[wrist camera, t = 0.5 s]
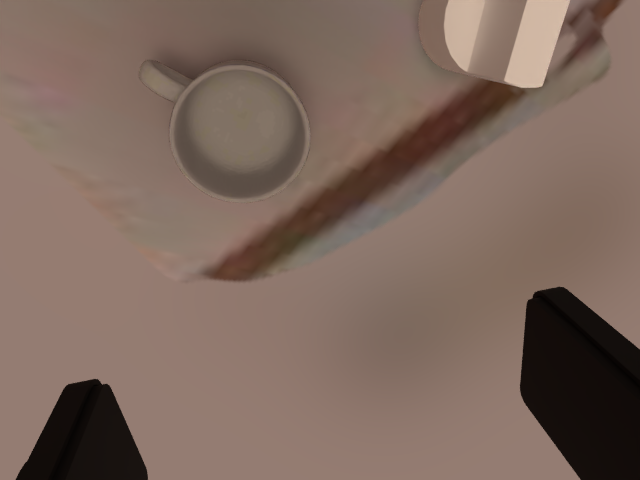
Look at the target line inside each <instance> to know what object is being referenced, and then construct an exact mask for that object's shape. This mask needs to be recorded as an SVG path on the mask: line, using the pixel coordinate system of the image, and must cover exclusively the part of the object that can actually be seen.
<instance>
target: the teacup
mask: <svg viewBox="0 0 640 480" xmlns="http://www.w3.org/2000/svg"><path fill="white" fill-rule="evenodd" d="M139 78H140V80H141V81H142V83H143V84H144V85H146V86H147V87H148V88H149V89H150V90H152V91H153V92H155V93H156V94H158V95H160V96H162V97H163V98H165V99H168V100H170V101H172V102H175V106H174V108H173V111H172V115H171V119H170V125H169V142H170V146H171V150H172V154H173V156H174V159H175V161H176V163H177V165H178V167H179V168H180V170H181V172H182V173H183V174H184V175H185V176H186V177H187V179H188V180H189V181H190V182H191V183H192V184H193V185H194V186H196V187H197V188H198V189H199V190H201V191H202V192H204V193H206V194H207V195H209V196H211V197H214V198H217V199H220V200H223V201H227V202H234V203H251V202H257V201H261V200H264V199H267V198H269V197H271V196H274V195H276V194H277V193H279V192H280V191H282V190H283V189H285V188H286V187H287V186H288V185H289V184H290V183H292V182H293V181H294V180H295V178H296V177H297V176H298V174H299V173H300V171H301V170H302V168H303V166H304V164H305V162H306V160H307V157H308V153H309V150H310V126H309V121H308V117H307V113H306V111H305V108H304V106H303V104H302V102H301V100H300V99H299V97H298V96H297V94H296V93H295V92H294V91H293V89H292V88H291V86H290V85H289V84H288V83H287V82H286V81H285V80H284V78H282V77H281V76H280V75H279V74H278V73H276V72H275V71H274V70H272V69H270V68H269V67H267V66H264V65H262V64H259V63H256V62H252V61H246V60H232V61H226V62H222V63H219V64H216V65H214V66H212V67H210V68H208V69H206V70H205V71H204V72H202V73H201V74H200V75H199V76H197V77H196V78H195V79H194V80H192V79H190V78H187V77H185V76H184V75H182V74H180V73H178V72H176V71H175V70H173V69H171V68H169V67H167V66H166V65H164V64H162V63H160V62H158V61H154V60H146V61H145V62H144V63H143V64H142V65H141V68H140V70H139Z"/></svg>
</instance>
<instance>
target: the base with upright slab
mask: <svg viewBox="0 0 640 480" xmlns="http://www.w3.org/2000/svg"><path fill="white" fill-rule="evenodd" d="M569 2H570V0H423V2H422V5H421V8H420V11H419V21H418V29H419V36H420V41H421V43H422V46H423V48H424V51H425V53H426V54H427V55H428V56H429V58H430V59H431V60H432V61H433V62H434V63H435V64H437V65H438V66H440V67H441V68H443V69H446V70H449V71H452V72H456V73H461V74H465V75H469V76H474V77H478V78H482V79H487V80H491V81H495V82H500V83H504V84H509V85H513V86H517V87H522V88H537V87H541V86H543V82H544V79H545V76H546V73H547V70H548V67H549V64H550V61H551V58H552V54H553V51H554V48H555V45H556V42H557V39H558V36H559V33H560V30H561V26H562V23H563V20H564V17H565V14H566V11H567V8H568V5H569Z"/></svg>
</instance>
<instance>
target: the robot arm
mask: <svg viewBox="0 0 640 480" xmlns="http://www.w3.org/2000/svg"><path fill="white" fill-rule="evenodd" d="M520 391H521V396H522V398H523V401H524V403H525V404H526V406H527V407H528V408H529V410H530V411H531V412H532V414H533V415H534V416H535V418H536V419H537V420H538V422H539V423H540V425H541V426H542V427H543V429H544V430H545V431H546V433H547V434H548V436H549V437H550V438H551V440H552V441H553V442H554V444H555V445H556V446H557V448H558V449H559V450H560V452H561V453H562V455H563V456H564V457H565V459H566V460H567V461H568V463H569V464H570V466H571V467H572V468H573V469H574V471H575V472H576V474H577V475H578V476H579V478H580V479H581V480H640V349H638V348H637V347H636V346H635V345H634V344H632V343H631V342H630V341H628V339H626V338H625V337H624V336H623V335H621V334H620V333H619V332H618V331H617V330H615V329H614V328H613V327H612V326H610V325H609V324H608V323H607V322H606V321H605V320H603V319H602V318H601V317H600V316H598V315H597V314H596V313H595V312H594V311H592V310H591V309H590V308H588V306H586V305H585V304H584V303H583V302H582V301H580V300H579V299H578V298H577V297H575V296H574V295H573V294H572V293H571V292H569V291H568V290H567V289H565V288H564V287H557V288H551V289H546V290H541V291H537V292H535V293H534V295H533V298H532V299H530V300H528V302H527V308H526V320H525V332H524V345H523V357H522V370H521V382H520ZM16 480H148V475H147V469H146V467H145V464H144V462H143V460H142V457H141V455H140V453H139V451H138V448H137V446H136V444H135V442H134V439H133V437H132V435H131V432H130V430H129V428H128V426H127V423H126V421H125V419H124V417H123V414H122V412H121V410H120V408H119V405H118V403H117V401H116V398H115V396H114V394H113V392H112V389H111V388H110V386H109V385H108V384H103V385H102V384H101V383H100V381H99V380H98V379H93V380H88V381H82V382H77V383H73V384H68V385H67V386H66V387H65V388H64V390H63V392H62V394H61V395H60V397H59V399H58V401H57V403H56V405H55V407H54V409H53V411H52V413H51V415H50V417H49V419H48V421H47V423H46V425H45V427H44V429H43V431H42V433H41V435H40V437H39V439H38V441H37V443H36V445H35V447H34V449H33V451H32V453H31V455H30V457H29V459H28V461H27V462H26V463H25V464H24V466H23V467H22V469H21V470H20V472H19V474H18V476H17V478H16Z"/></svg>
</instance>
